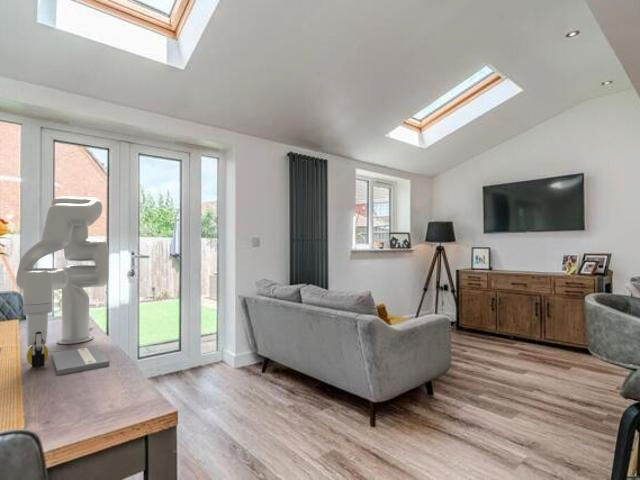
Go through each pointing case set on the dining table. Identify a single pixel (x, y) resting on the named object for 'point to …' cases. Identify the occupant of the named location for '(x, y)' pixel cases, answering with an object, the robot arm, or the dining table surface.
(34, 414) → the dining table surface
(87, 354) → the strip
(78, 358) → the panel
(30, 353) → the lemon
